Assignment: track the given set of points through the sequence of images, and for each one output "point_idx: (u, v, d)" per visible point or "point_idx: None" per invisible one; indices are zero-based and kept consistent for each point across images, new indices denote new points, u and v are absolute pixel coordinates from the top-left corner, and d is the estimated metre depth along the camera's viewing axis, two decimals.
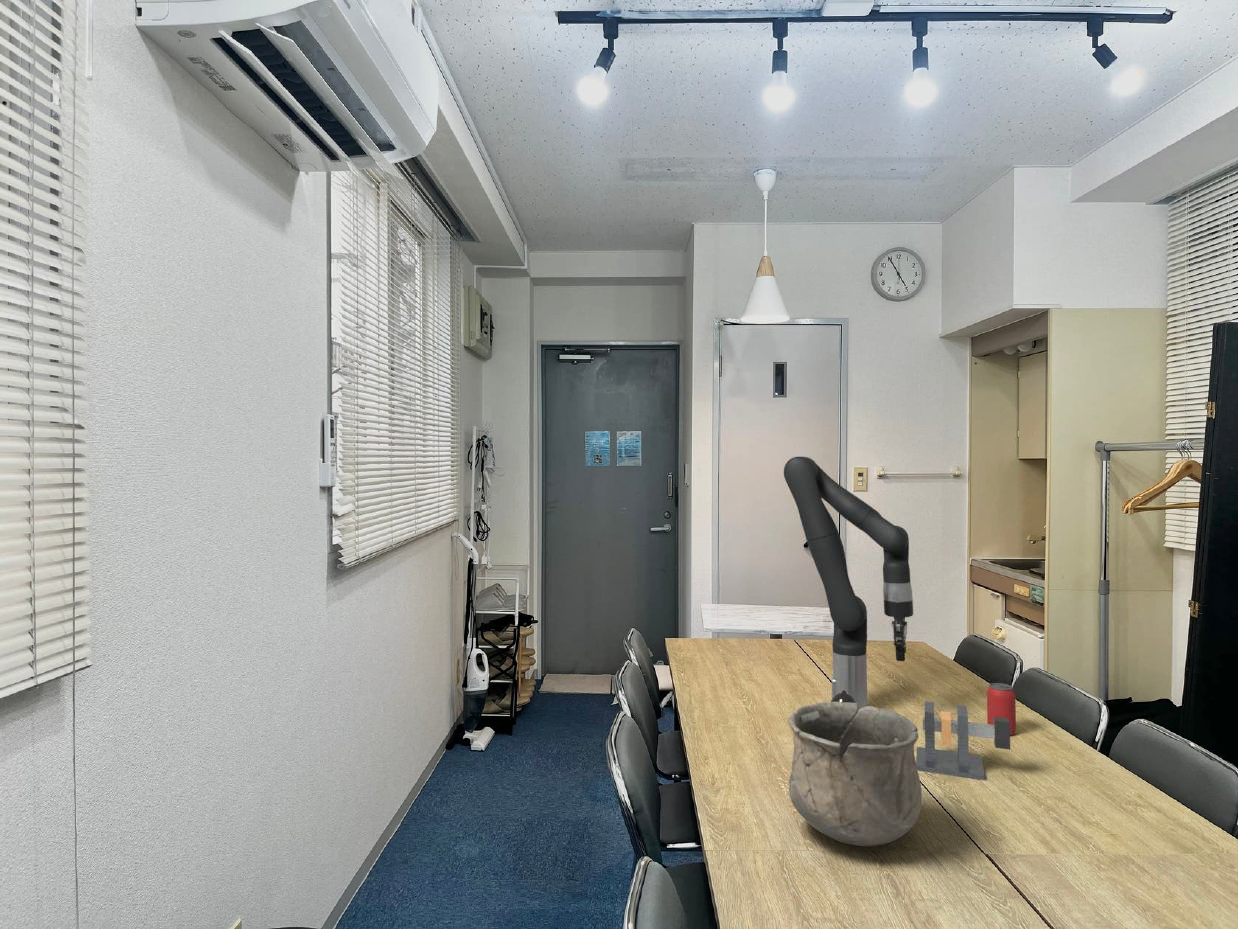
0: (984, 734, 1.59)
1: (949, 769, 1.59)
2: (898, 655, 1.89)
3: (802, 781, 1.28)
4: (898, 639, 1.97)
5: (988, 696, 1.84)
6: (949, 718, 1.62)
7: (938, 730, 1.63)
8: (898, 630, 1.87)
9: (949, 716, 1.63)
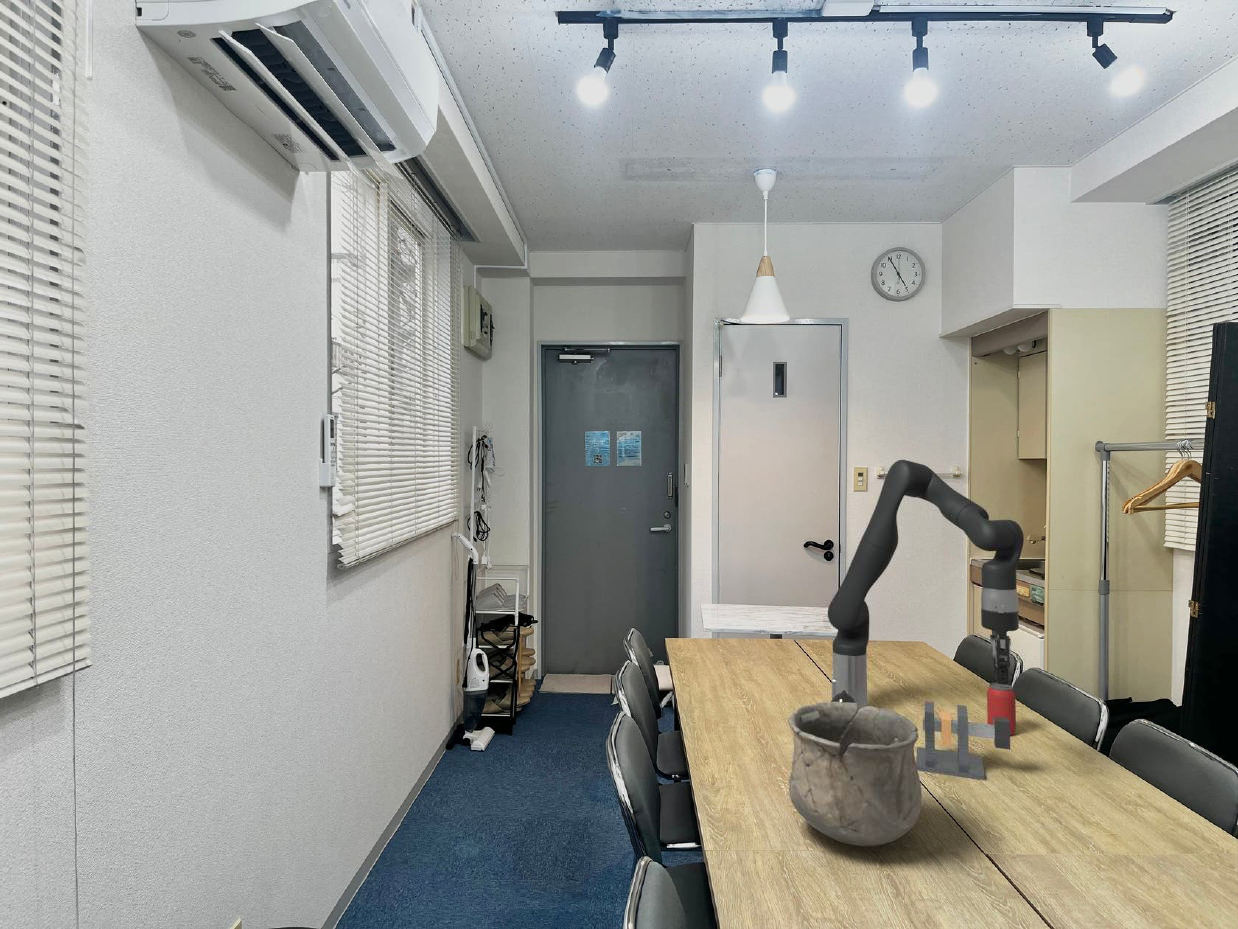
0: (984, 734, 1.59)
1: (949, 769, 1.59)
2: (1000, 677, 1.54)
3: (802, 781, 1.28)
4: None
5: (988, 696, 1.84)
6: (949, 718, 1.62)
7: (938, 730, 1.63)
8: (1003, 647, 1.53)
9: (949, 716, 1.63)
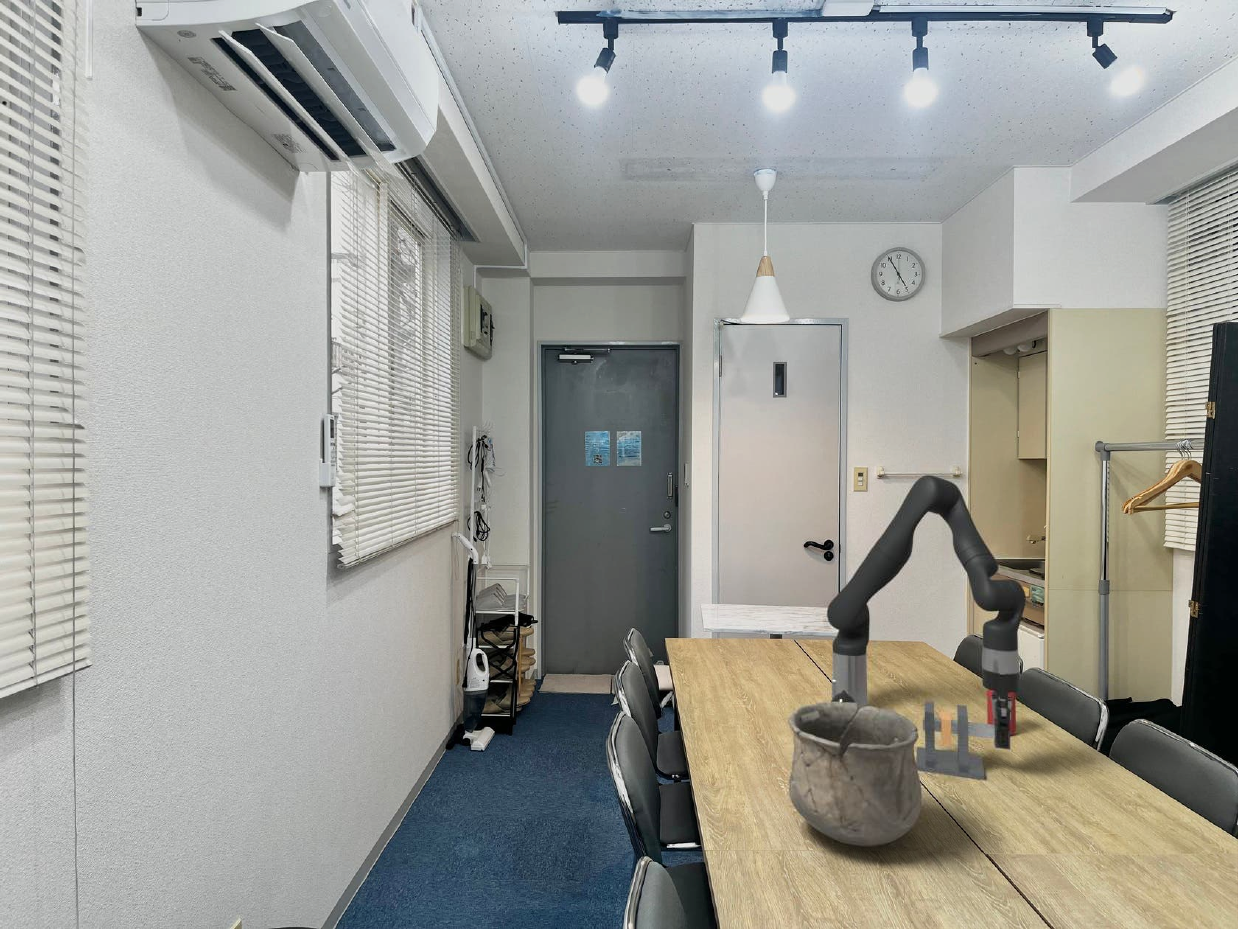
0: (984, 734, 1.59)
1: (949, 769, 1.59)
2: (1000, 740, 1.56)
3: (802, 781, 1.28)
4: None
5: (988, 696, 1.84)
6: (949, 718, 1.62)
7: (938, 730, 1.63)
8: (1004, 716, 1.53)
9: (949, 716, 1.63)
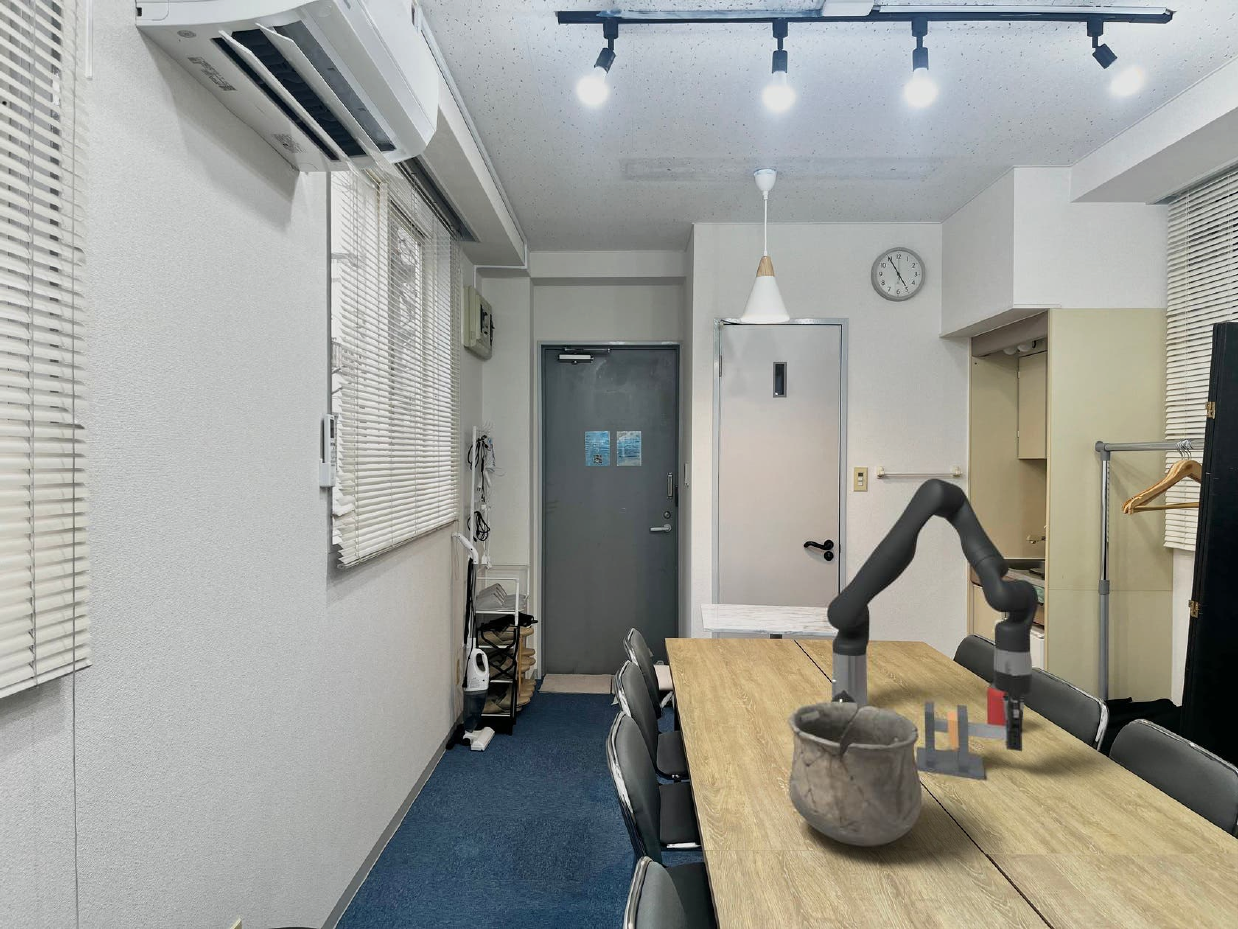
0: (996, 735, 1.58)
1: (949, 769, 1.59)
2: (1012, 742, 1.55)
3: (802, 781, 1.28)
4: None
5: (988, 696, 1.84)
6: (956, 719, 1.61)
7: None
8: (1016, 717, 1.52)
9: (956, 717, 1.62)
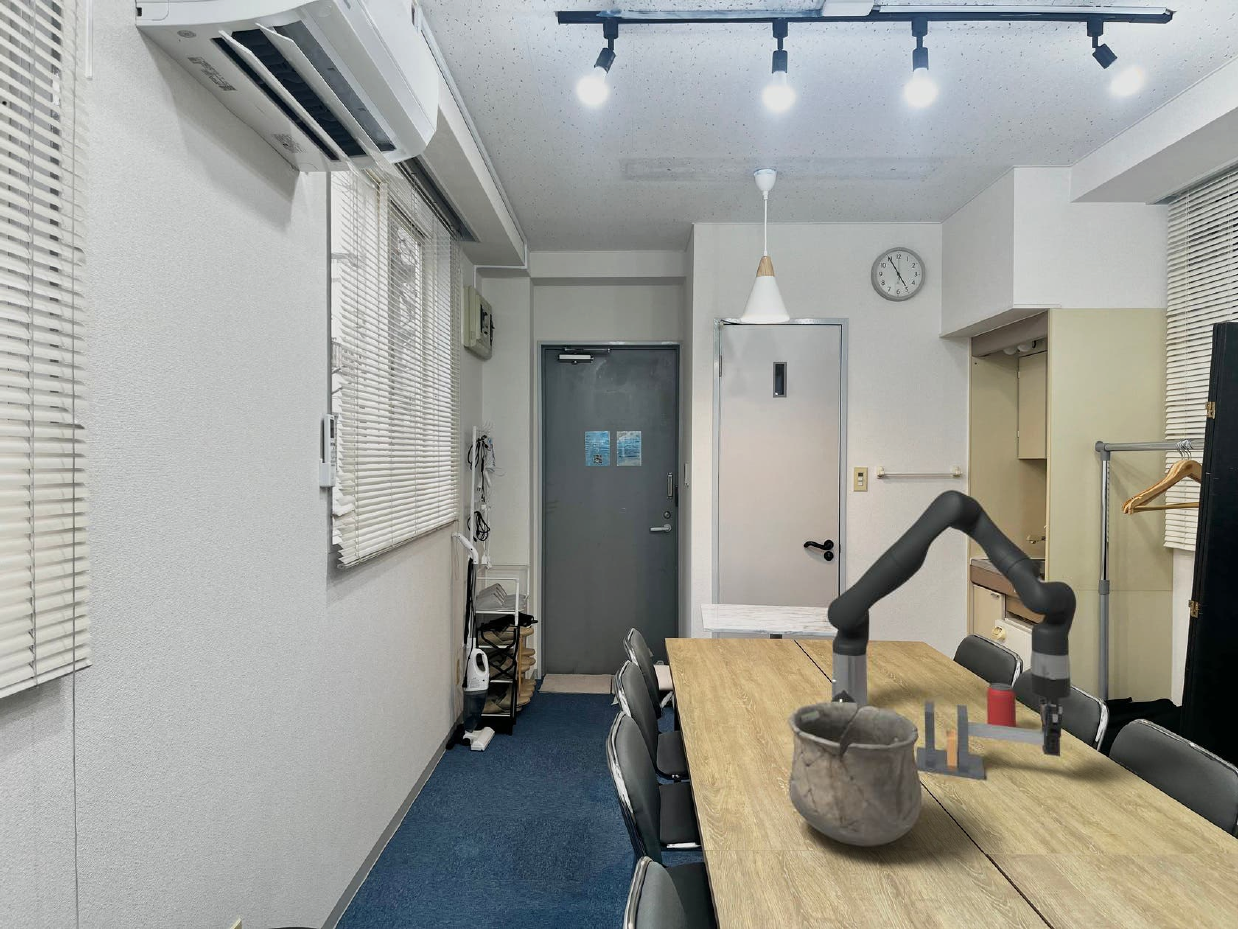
0: (1032, 740, 1.55)
1: (949, 769, 1.59)
2: (1050, 747, 1.52)
3: (802, 781, 1.28)
4: None
5: (988, 696, 1.84)
6: (954, 738, 1.61)
7: (984, 736, 1.59)
8: (1055, 722, 1.49)
9: (954, 736, 1.62)
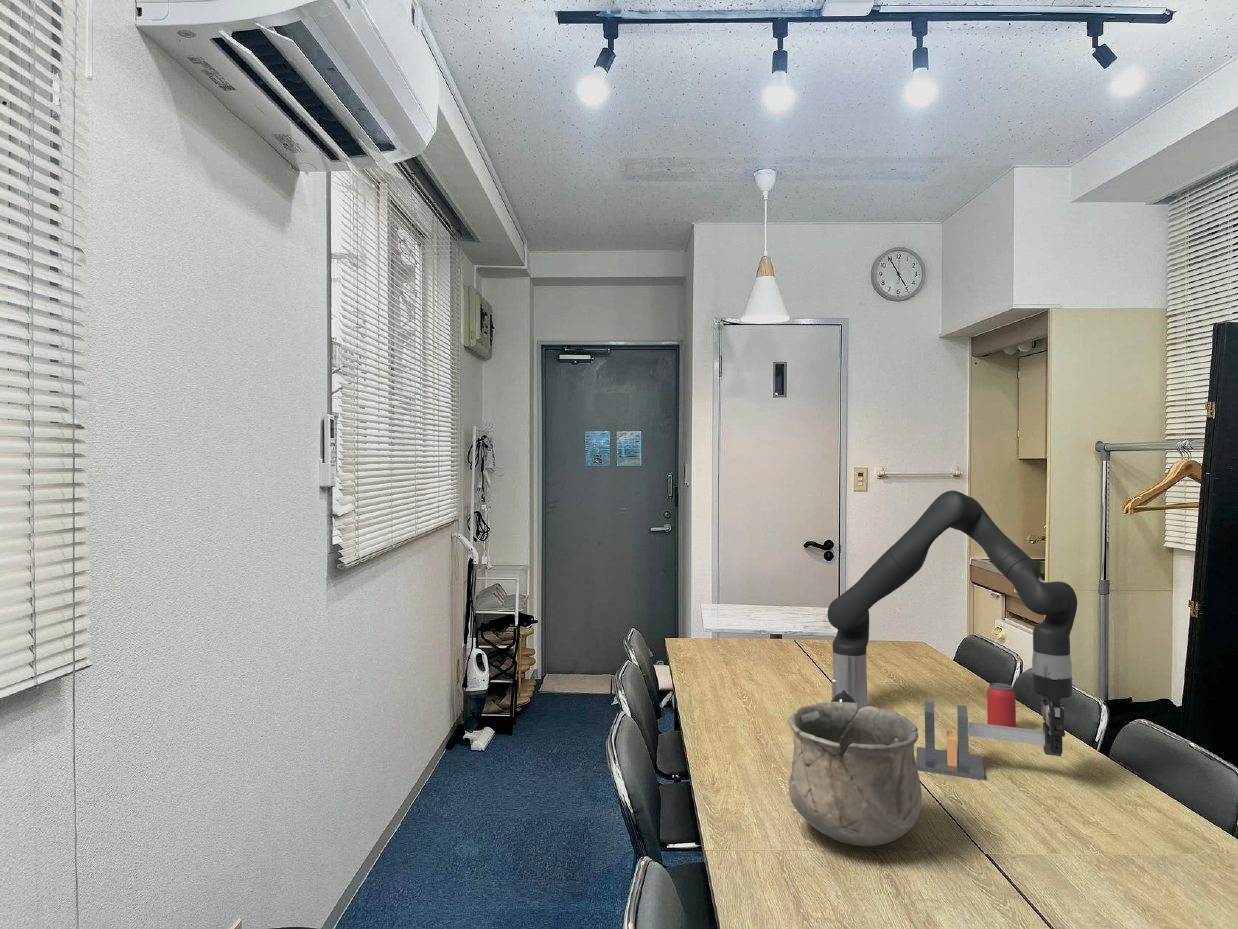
0: (1034, 740, 1.55)
1: (949, 769, 1.59)
2: (1054, 746, 1.50)
3: (802, 781, 1.28)
4: None
5: (988, 696, 1.84)
6: (955, 738, 1.61)
7: (985, 736, 1.59)
8: (1057, 716, 1.48)
9: (955, 736, 1.62)
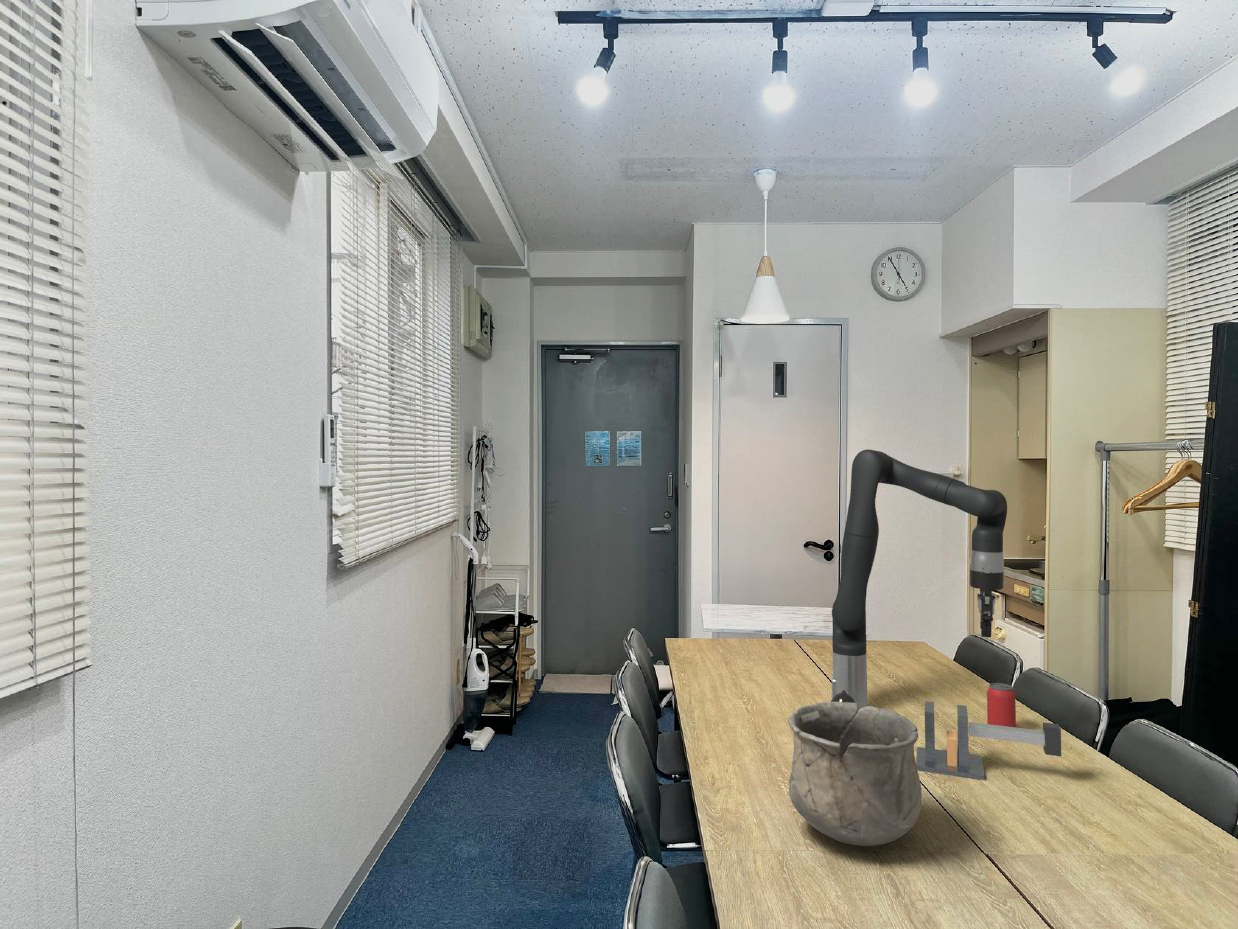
0: (1034, 740, 1.55)
1: (949, 769, 1.59)
2: (984, 630, 1.71)
3: (802, 781, 1.28)
4: None
5: (988, 696, 1.84)
6: (955, 738, 1.61)
7: (985, 736, 1.59)
8: (987, 603, 1.70)
9: (955, 736, 1.62)
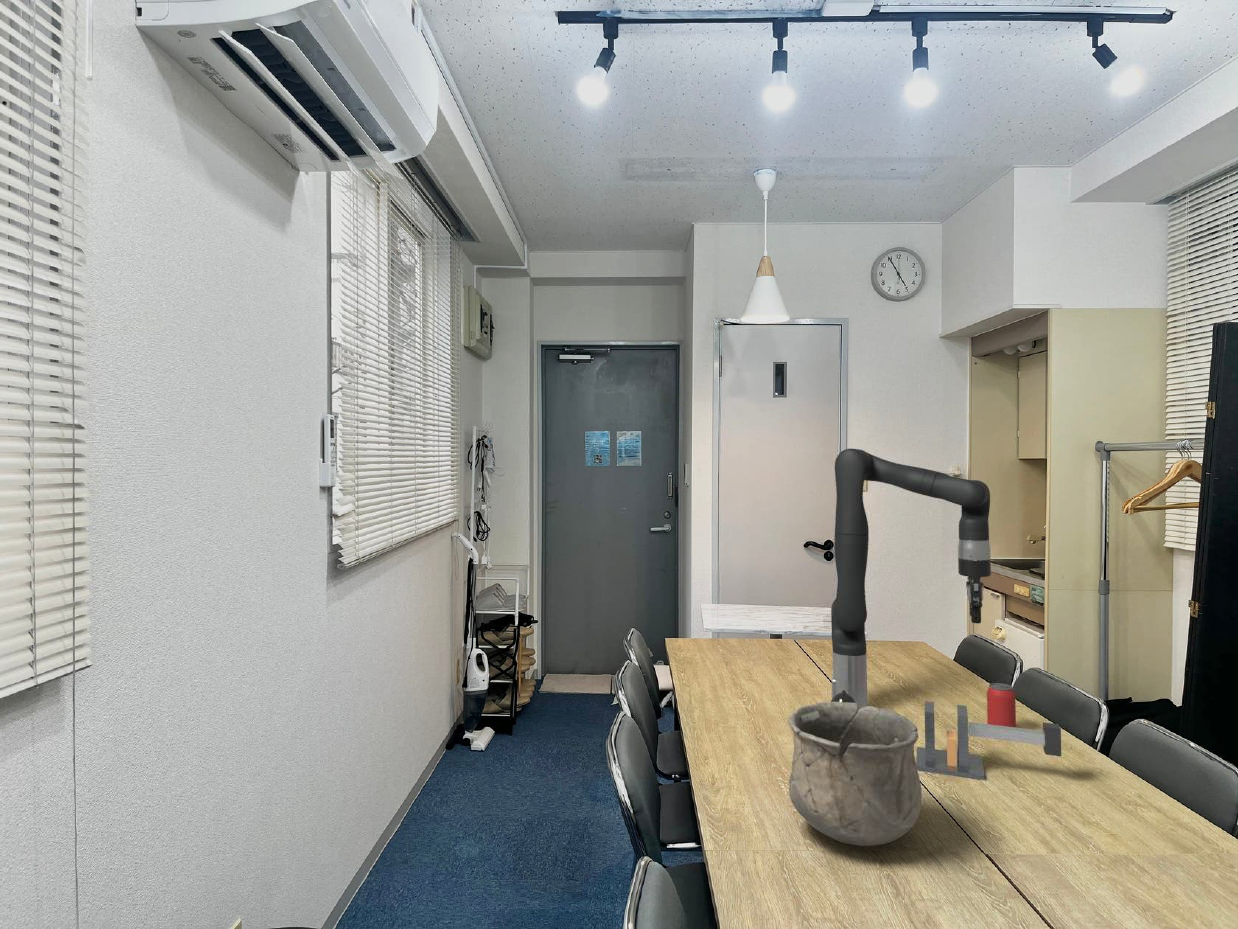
0: (1034, 740, 1.55)
1: (949, 769, 1.59)
2: (974, 617, 1.76)
3: (802, 781, 1.28)
4: None
5: (988, 696, 1.84)
6: (955, 738, 1.61)
7: (985, 736, 1.59)
8: (976, 590, 1.75)
9: (955, 736, 1.62)
